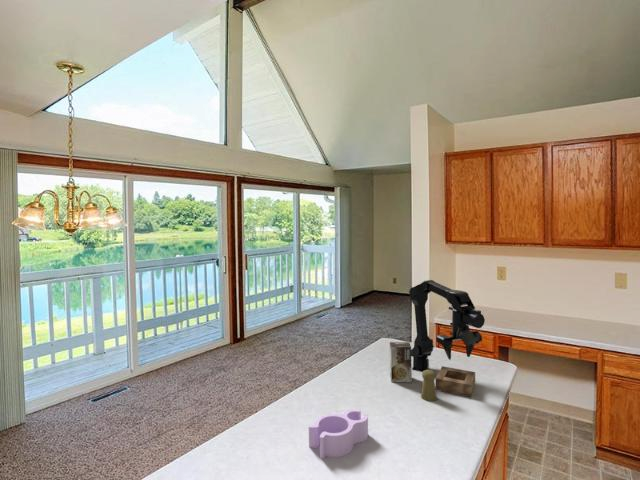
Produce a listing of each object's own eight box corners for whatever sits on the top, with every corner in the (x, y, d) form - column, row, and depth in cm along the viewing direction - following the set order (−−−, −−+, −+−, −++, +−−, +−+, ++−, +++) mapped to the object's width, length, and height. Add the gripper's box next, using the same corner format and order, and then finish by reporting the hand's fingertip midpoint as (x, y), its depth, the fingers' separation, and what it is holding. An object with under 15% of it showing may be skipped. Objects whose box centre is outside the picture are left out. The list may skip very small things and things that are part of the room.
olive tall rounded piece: (437, 401, 146) (437, 374, 145) (421, 400, 147) (421, 373, 147) (435, 394, 152) (435, 368, 151) (420, 393, 153) (420, 367, 153)
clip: (352, 423, 132) (352, 404, 132) (376, 441, 122) (376, 420, 121) (304, 442, 121) (304, 422, 121) (325, 464, 111) (325, 441, 110)
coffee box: (409, 376, 169) (409, 342, 168) (411, 382, 163) (411, 347, 162) (389, 375, 170) (389, 341, 169) (390, 382, 164) (390, 346, 163)
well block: (435, 389, 156) (435, 378, 156) (442, 376, 168) (442, 366, 168) (471, 397, 149) (471, 385, 149) (475, 383, 162) (475, 372, 161)
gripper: (452, 329, 145) (451, 368, 146) (491, 325, 150) (491, 362, 151) (435, 321, 156) (435, 357, 157) (473, 317, 161) (472, 352, 162)
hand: (458, 358), depth 156 cm, fingers open, 9 cm apart
